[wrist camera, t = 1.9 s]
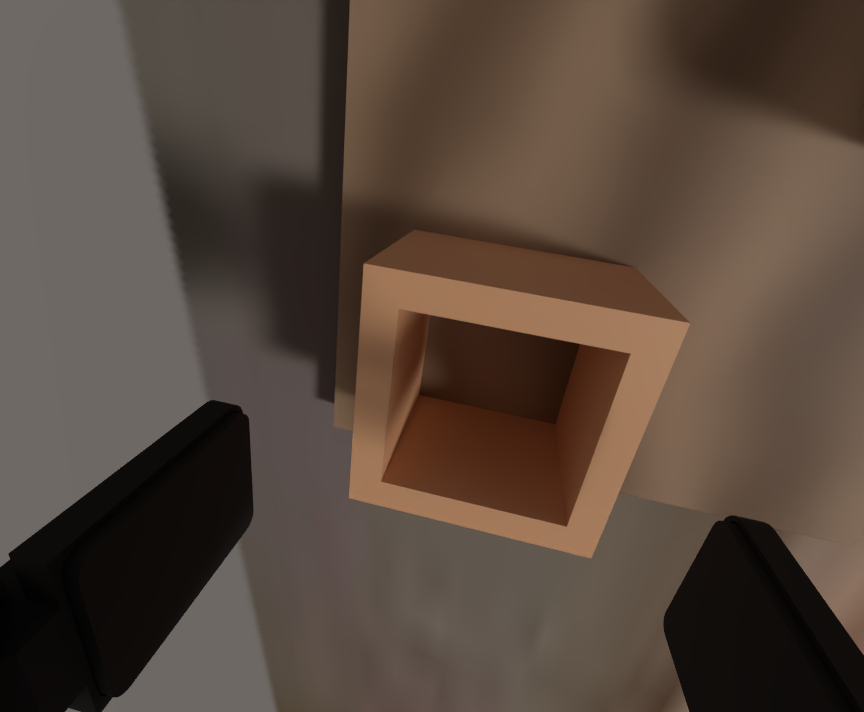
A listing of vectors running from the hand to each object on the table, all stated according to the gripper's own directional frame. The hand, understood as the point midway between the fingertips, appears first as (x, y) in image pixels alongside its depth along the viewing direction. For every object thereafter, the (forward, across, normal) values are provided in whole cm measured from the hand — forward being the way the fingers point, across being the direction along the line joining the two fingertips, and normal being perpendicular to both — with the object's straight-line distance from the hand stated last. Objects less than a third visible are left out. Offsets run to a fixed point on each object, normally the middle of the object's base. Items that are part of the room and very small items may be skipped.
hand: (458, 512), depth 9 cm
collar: (+7, 0, -1) cm, 8 cm away
